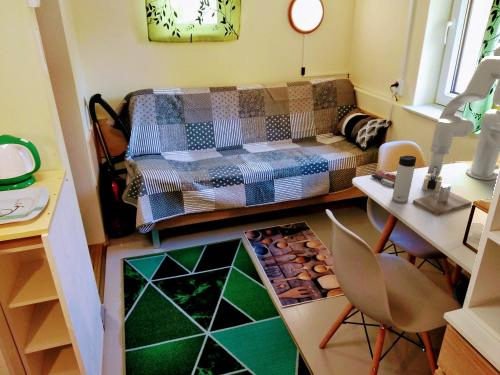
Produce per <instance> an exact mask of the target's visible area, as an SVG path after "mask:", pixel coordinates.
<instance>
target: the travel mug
mask: <svg viewBox="0 0 500 375" xmlns="http://www.w3.org/2000/svg"><path fill="white" fill-rule="evenodd" d="M398 160H399V161H398V164H397V170H396V174H397V175H396V180H395V185H394V187H393V192H392V197H391V199H392V201H393V202H394V203H396V204H404V205H405V204H407V203H408V202H409V196H410V192H411V187H412V183H413V178H414V177H413V176H414V173H415V168H416V163H417V162H416V161H417V157H416V156H413V155H403V156H399V159H398Z"/></svg>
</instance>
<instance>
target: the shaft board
mask: <svg viewBox="0 0 500 375" xmlns="http://www.w3.org/2000/svg"><path fill="white" fill-rule="evenodd" d="M451 190H452V184H449V183H447V184H444V185H441V187H440V191H439V192H435V193H432V194H429V195H427V196H423V197H420V198H419V197H418V198H416V199H413V200H412V204H414V205H415V206H417V207H419V208H421V209H423V210H424V211H426V212H428V213H430V214H432V215H434V216H436V217H439V216H442V215H445V214H448V213H451V212H454V211H458V210H460V209H464V208H468V207H469V206H472V202H473V201H471V200H468V199H467V198H465V197H462V196H461V195H458V194H456V193H454V192H451Z"/></svg>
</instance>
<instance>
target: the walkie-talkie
mask: <svg viewBox="0 0 500 375" xmlns="http://www.w3.org/2000/svg"><path fill="white" fill-rule="evenodd" d="M396 175H397V173H394V172H391V171H390V172H388V171H386V170H381V169H380V170H377V171H375V172H374V174H371V177H372V178H373V179H374V180H376V181H379V182H381V183H382V184H383V185H385V186H387V187H390V188H394V185H395V180H396Z"/></svg>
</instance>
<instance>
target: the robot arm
mask: <svg viewBox="0 0 500 375" xmlns="http://www.w3.org/2000/svg"><path fill="white" fill-rule="evenodd" d="M496 80H497V83H496ZM495 83H496V87H495V90H494V91H493V96H492V99H491V100H492V103H493V105H494V106H496V107H499V108H500V43H498V44H497V45H496V46H495V48H494V51H493V55H489V56H485V57H484V58H482V59H481V61H480V62H479V64H478V66H477V67H476V69H475V71H474V73H473V75H472V77H471V78H470V81H469V82H468V84H467V87H466V88H465V90H464V91H462V92H461V93H459V94H458V95H456V96H455V97H454V98H452V99H451V100H450V101H449V102H447V104H446V105H445V107H444V108H443V110H442V112H441V114H440V116H439V119H438V120H437V121H436V123H435V125H434V126H435V128H434V130H433V135H432V136H433V137H432V139H431V145H430V150H429V151H430V152H431V157H430V160H429V164H428V168H427V172H426V173H428V174H431V175H430V179H429V181H428V186H427V188H428V189H433V190H435V187H436V182H437V181H436V180H437V176H439V175H440V174H441V172H442V169H443V166H444V162H445V158H446V155H448V154H450V151H451V148H452V144H453V139H454V138H455V137H456V138H465V137H467V136H469V135H471V134H472V133H473V131H474V129H475V125H474V123H473V121H472V120H470V119H468V118H464V117H462V116H457V115H455V114H456V113H457V112H458V110H459V109H460V108H461V107H463V106H465V105H467V104H469V103H474V102H477V101H481V100H484V99H486V98H487V97H488V95H489V93H490V91H491V90H492V87H493V86H494V85H495ZM480 121H481V123H480V133H479V137H478V142H477V144H476V149H475V152H474V155H473V159H472V163H471V167H469V168H467V169H466V171H465V173H466V175H467V176H469V177H471V178H473V179H477V180H480V181H493V180H495V179H496V178H497V174H496V172H494V171H496V170H498V169H499V168H500V166H499V165H497V162H498V158H499V156H500V109H496V108H493V109H492V108H491V109H489V110H486V111H485V112H484V114H482V117H481V120H480ZM435 176H436V178H435Z"/></svg>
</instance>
